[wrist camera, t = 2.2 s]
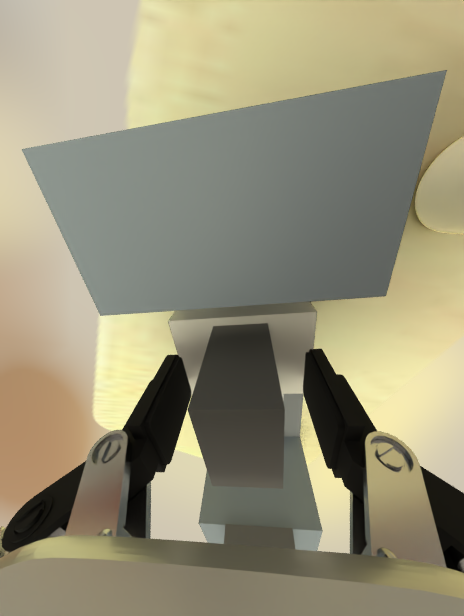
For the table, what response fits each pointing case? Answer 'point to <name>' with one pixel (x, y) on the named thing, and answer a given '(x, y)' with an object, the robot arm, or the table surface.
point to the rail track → (247, 234)
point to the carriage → (243, 384)
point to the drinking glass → (443, 192)
